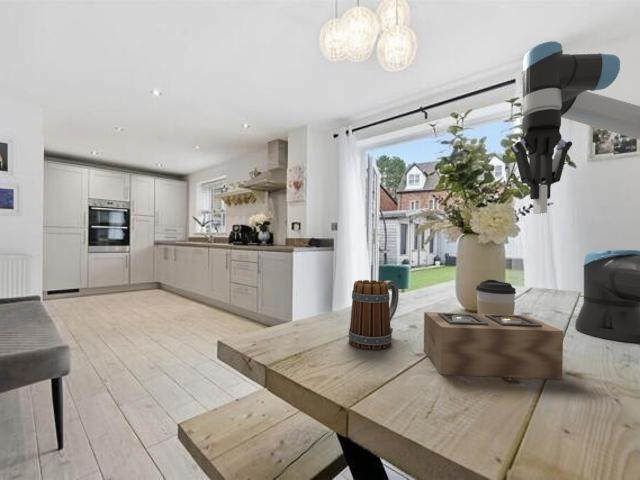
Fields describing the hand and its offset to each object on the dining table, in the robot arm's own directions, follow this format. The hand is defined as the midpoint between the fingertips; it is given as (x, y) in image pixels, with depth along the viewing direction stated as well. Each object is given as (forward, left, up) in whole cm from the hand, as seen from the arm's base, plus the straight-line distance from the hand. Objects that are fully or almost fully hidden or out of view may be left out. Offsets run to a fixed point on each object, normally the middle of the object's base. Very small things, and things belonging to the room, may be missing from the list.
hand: (539, 213), depth 73 cm
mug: (+38, -1, -33) cm, 50 cm away
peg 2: (+12, +11, -31) cm, 35 cm away
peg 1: (+22, +11, -31) cm, 40 cm away
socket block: (+17, +11, -32) cm, 38 cm away
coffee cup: (+7, -6, -33) cm, 34 cm away
